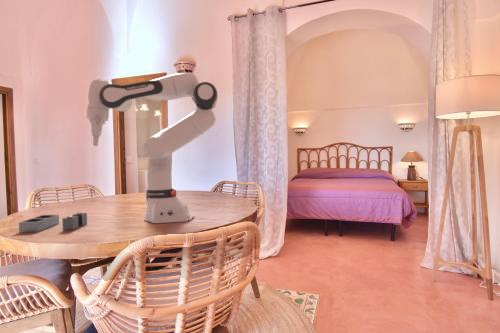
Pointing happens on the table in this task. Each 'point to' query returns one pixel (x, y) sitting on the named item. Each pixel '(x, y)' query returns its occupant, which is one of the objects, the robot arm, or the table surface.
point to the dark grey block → (70, 223)
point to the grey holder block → (38, 223)
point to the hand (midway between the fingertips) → (95, 145)
